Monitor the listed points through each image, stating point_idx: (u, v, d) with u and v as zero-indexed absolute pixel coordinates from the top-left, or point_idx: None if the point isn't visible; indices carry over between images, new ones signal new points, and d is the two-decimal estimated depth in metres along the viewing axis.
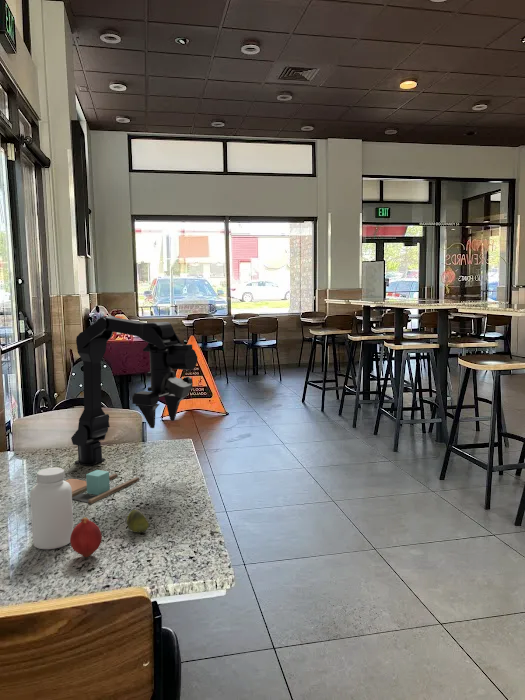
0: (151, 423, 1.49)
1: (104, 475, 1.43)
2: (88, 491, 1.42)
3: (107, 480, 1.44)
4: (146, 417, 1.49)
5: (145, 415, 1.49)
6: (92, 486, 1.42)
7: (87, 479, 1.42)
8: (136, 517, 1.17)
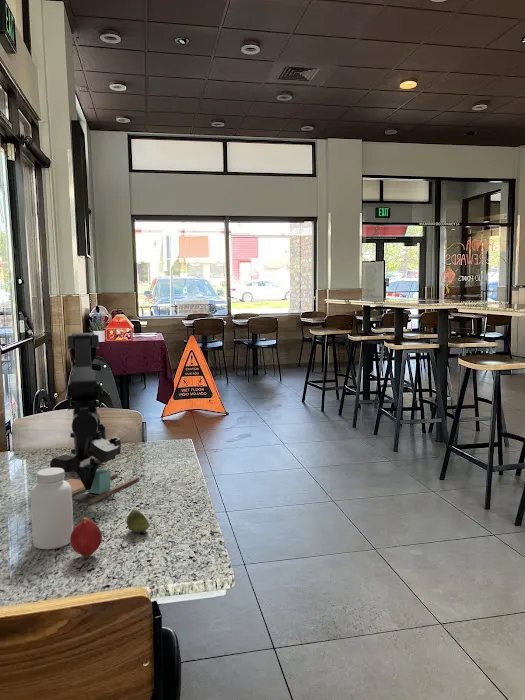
0: (86, 484, 1.40)
1: (106, 474, 1.43)
2: None
3: (108, 479, 1.44)
4: (81, 478, 1.39)
5: (80, 476, 1.39)
6: (93, 484, 1.42)
7: None
8: (136, 517, 1.17)
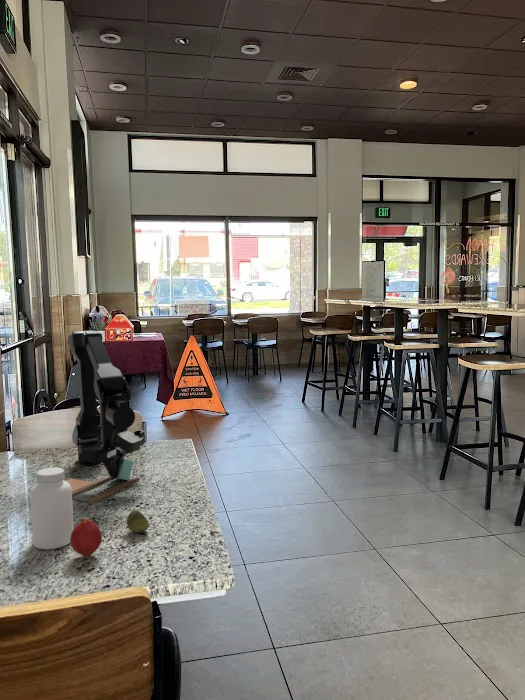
0: (112, 474, 1.48)
1: (129, 462, 1.52)
2: None
3: (130, 469, 1.52)
4: (107, 468, 1.48)
5: (106, 466, 1.48)
6: None
7: None
8: (136, 517, 1.17)
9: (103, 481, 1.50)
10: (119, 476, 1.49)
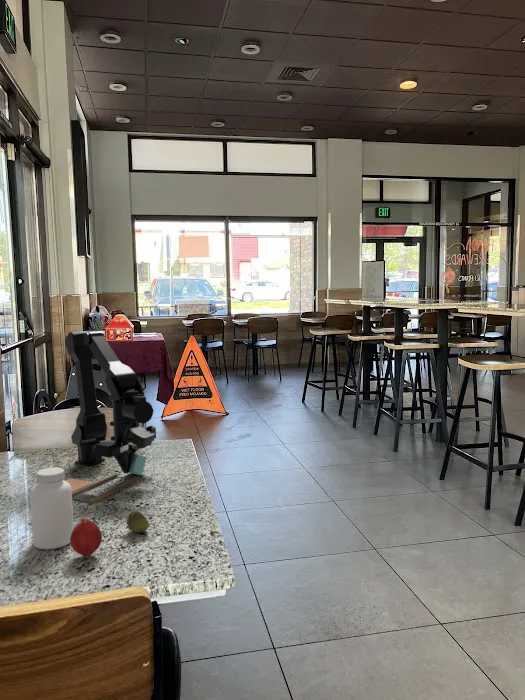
0: (124, 469, 1.52)
1: (142, 457, 1.56)
2: None
3: (142, 464, 1.56)
4: (119, 463, 1.52)
5: (118, 461, 1.52)
6: None
7: None
8: (136, 517, 1.17)
9: (103, 481, 1.50)
10: (132, 471, 1.53)
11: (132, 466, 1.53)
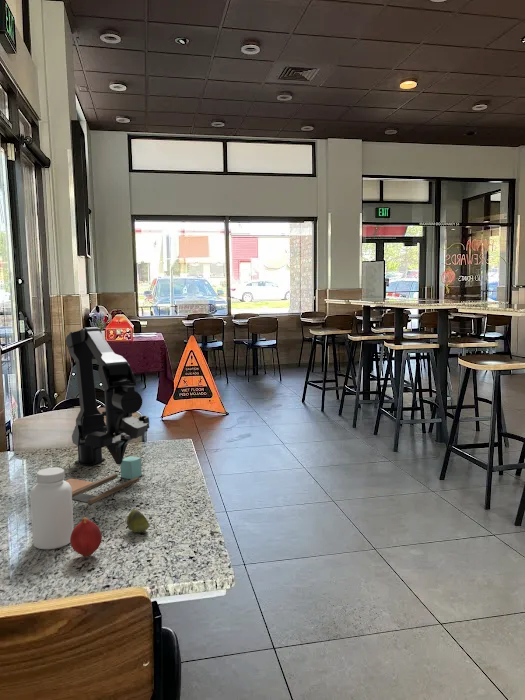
0: (117, 460, 1.49)
1: (136, 461, 1.54)
2: (122, 475, 1.54)
3: (139, 466, 1.55)
4: (112, 454, 1.49)
5: (111, 452, 1.49)
6: (126, 471, 1.53)
7: (121, 464, 1.54)
8: (136, 517, 1.17)
9: (103, 481, 1.50)
10: (131, 478, 1.53)
11: (129, 473, 1.53)
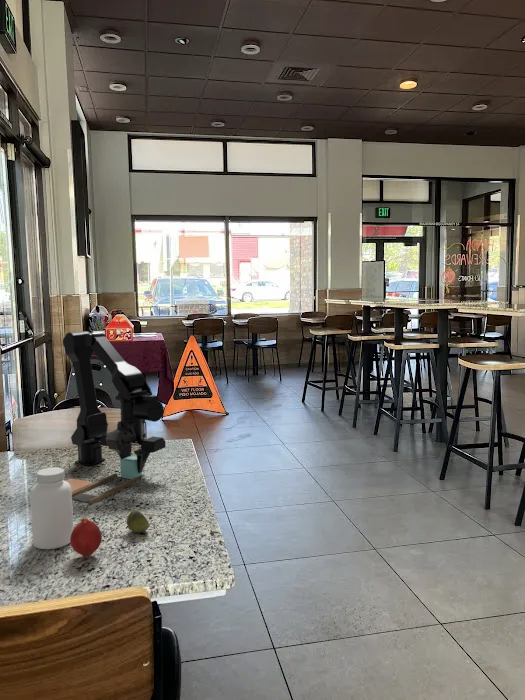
0: None
1: None
2: (122, 475, 1.54)
3: None
4: None
5: None
6: (126, 470, 1.53)
7: (121, 464, 1.54)
8: (136, 517, 1.17)
9: (103, 481, 1.50)
10: (131, 478, 1.53)
11: (129, 473, 1.53)
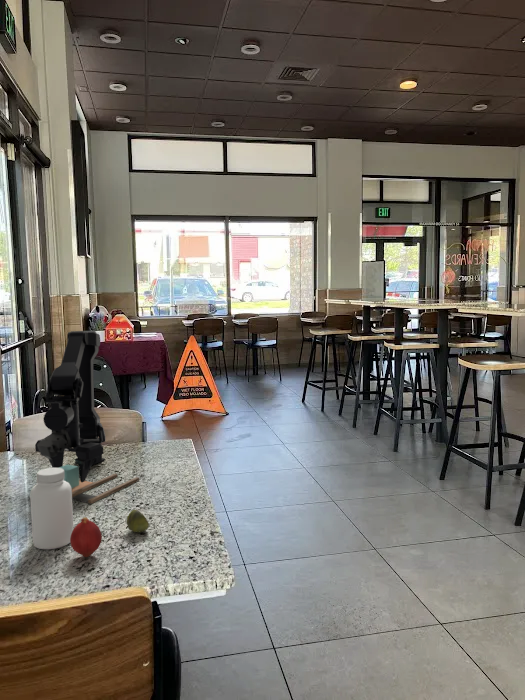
0: None
1: (73, 470, 1.44)
2: None
3: (76, 475, 1.46)
4: None
5: None
6: None
7: None
8: (136, 517, 1.17)
9: (103, 481, 1.50)
10: None
11: None
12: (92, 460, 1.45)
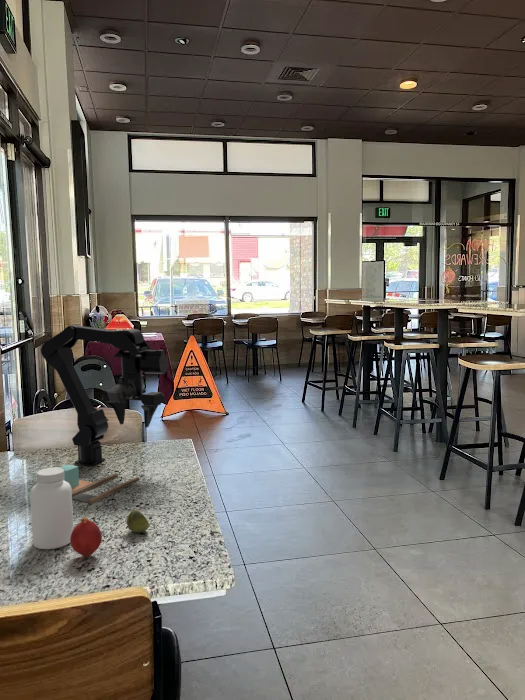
0: None
1: (73, 470, 1.44)
2: None
3: (76, 475, 1.46)
4: None
5: None
6: None
7: None
8: (136, 517, 1.17)
9: (103, 481, 1.50)
10: None
11: None
12: (155, 408, 1.62)
